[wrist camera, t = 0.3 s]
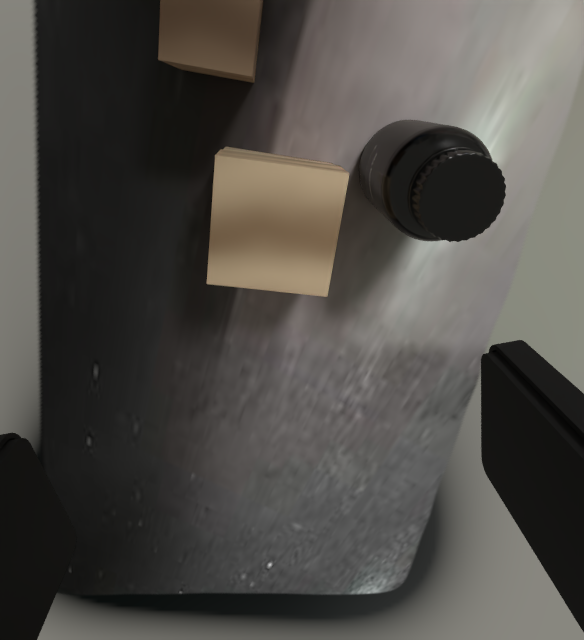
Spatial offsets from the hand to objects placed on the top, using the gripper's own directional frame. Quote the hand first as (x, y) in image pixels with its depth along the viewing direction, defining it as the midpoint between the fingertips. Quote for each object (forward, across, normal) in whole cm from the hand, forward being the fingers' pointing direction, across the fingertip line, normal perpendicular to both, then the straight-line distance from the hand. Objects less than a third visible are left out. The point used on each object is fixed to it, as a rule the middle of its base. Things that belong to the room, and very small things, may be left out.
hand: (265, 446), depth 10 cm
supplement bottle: (+29, -11, 0) cm, 31 cm away
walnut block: (+29, 0, -11) cm, 31 cm away
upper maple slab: (+25, -1, +1) cm, 25 cm away
